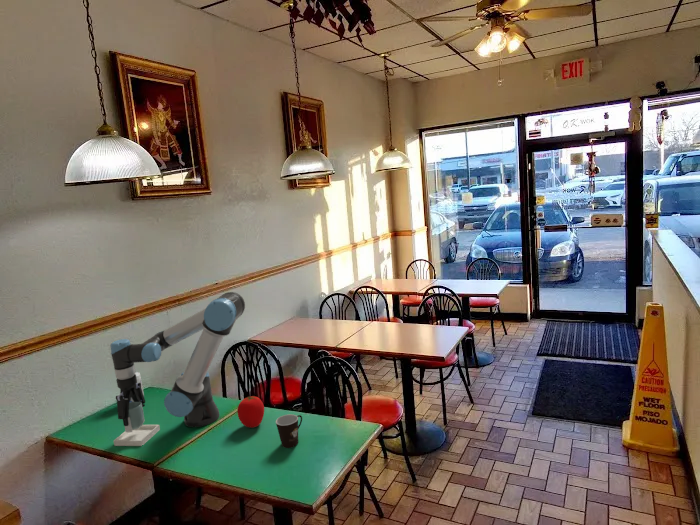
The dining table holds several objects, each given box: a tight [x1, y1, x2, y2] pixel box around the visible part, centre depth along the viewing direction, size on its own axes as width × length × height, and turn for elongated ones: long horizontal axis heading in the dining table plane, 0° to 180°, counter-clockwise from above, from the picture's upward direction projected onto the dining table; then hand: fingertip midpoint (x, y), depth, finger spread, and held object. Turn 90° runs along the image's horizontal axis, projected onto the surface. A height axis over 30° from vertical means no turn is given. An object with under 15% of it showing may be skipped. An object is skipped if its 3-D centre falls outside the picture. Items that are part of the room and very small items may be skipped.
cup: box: [125, 402, 145, 430], centre depth 203 cm, size 8×8×10 cm
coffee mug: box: [275, 413, 303, 449], centre depth 187 cm, size 12×9×10 cm
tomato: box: [236, 395, 265, 429], centre depth 203 cm, size 11×11×13 cm
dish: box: [113, 424, 161, 447], centre depth 205 cm, size 13×13×2 cm
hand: (135, 426), depth 204 cm, fingers closed on cup, 8 cm apart
